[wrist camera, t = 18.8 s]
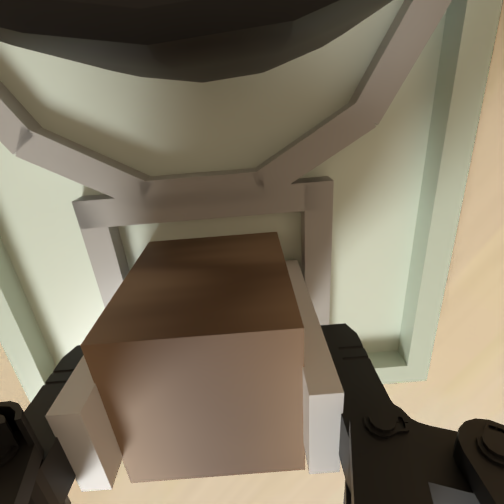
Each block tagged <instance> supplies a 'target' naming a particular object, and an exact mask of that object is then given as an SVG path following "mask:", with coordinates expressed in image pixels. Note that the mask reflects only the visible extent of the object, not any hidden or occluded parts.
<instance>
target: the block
mask: <svg viewBox="0 0 504 504" xmlns="http://www.w3.org/2000/svg"><path fill="white" fill-rule="evenodd" d="M80 346H81V349H82V352H83V354H84V357H85V360H86V363H87V365H88V368H89V371H90V373H91V376H92V379H93V382H94V384H96V386H97V389H98V392H99V394H100V397H101V400H102V402H103V405H104V408H105V410H106V413H107V416H108V419H109V421H110V424H111V427H112V429H113V432H114V435H115V437H116V440H117V443H118V446H119V448H120V451H121V454H122V456H123V458H122V460H123V463H124V465H125V468H126V471H127V474H128V476H129V479H130V482H131V483H137V482H150V481H163V480H176V479H189V478H202V477H214V476H227V475H240V474H253V473H266V472H279V471H292V470H305V448H304V439H303V367H304V325H303V322H302V318H301V315H300V311H299V308H298V304H297V301H296V297H295V294H294V290H293V287H292V283H291V280H290V276H289V272H288V269H287V265H286V262H285V258H284V255H283V251H282V248H281V244H280V241H279V237H278V234H277V232H267V233H254V234H241V235H229V236H216V237H203V238H190V239H177V240H165V241H152V242H149V243H148V244H147V246H146V247H145V249H144V250H143V252H142V253H141V255H140V256H139V258H138V259H137V261H136V262H135V264H134V265H133V267H132V268H131V270H130V271H129V273H128V274H127V276H126V277H125V279H124V280H123V282H122V283H121V285H120V286H119V288H118V289H117V291H116V292H115V294H114V295H113V297H112V298H111V300H110V301H109V303H108V304H107V306H106V307H105V309H104V310H103V312H102V313H101V315H100V316H99V318H98V319H97V321H96V322H95V324H94V325H93V327H92V328H91V330H90V331H89V333H88V335H87V336H86V338H85V339H84V341H83V342H82V344H81V345H80Z"/></svg>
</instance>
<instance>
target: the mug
mask: <svg viewBox="0 0 504 504" xmlns="http://www.w3.org/2000/svg"><path fill="white" fill-rule="evenodd" d="M391 1H393V0H0V42H3V43H6V44H9V45H12V46H16V47H20V48H24V49H28V50H32V51H36V52H40V53H44V54H48V55H52V56H56V57H59V58H63V59H67V60H71V61H75V62H79V63H83V64H87V65H91V66H95V67H99V68H103V69H106V70H110V71H114V72H119V73H124V74H129V75H133V76H138V77H146V78H157V79H168V80H179V81H189V82H200V83H204V82H210V81H216V80H222V79H229V78H235V77H241V76H247V75H253V74H259V73H264V72H266V71H268V70H271V69H273V68H275V67H278V66H280V65H282V64H285V63H287V62H289V61H291V60H294V59H296V58H298V57H301V56H303V55H305V54H308V53H310V52H312V51H314V50H317V49H319V48H321V47H323V46H325V45H326V44H328V43H330V42H331V41H333V40H334V39H336V38H338V37H339V36H341V35H343V34H344V33H346V32H347V31H349V30H350V29H352V28H353V27H355V26H356V25H357V24H359V23H360V22H362V21H363V20H365V19H366V18H368V17H369V16H371V15H372V14H374V13H375V12H377V11H378V10H380V9H381V8H383V7H384V6H386V5H387V4H388V3H390V2H391Z"/></svg>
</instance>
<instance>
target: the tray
mask: <svg viewBox="0 0 504 504" xmlns="http://www.w3.org/2000/svg"><path fill="white" fill-rule="evenodd" d="M502 4H503V0H393V1H391V2H390V3H388V4H387V5H386V6H384V7H383V8H381V9H380V10H378V11H377V12H375V13H374V14H372V15H371V16H369V17H368V18H366V19H365V20H363V21H362V22H360V23H359V24H357V25H356V26H355V27H353V28H352V29H350V30H349V31H347V32H346V33H344V34H343V35H341V36H339V37H338V38H336V39H334V40H333V41H331V42H330V43H328V44H326V45H325V46H323V47H321V48H319V49H317V50H314V51H312V52H310V53H308V54H305V55H303V56H301V57H298V58H296V59H294V60H291V61H289V62H287V63H285V64H282V65H280V66H278V67H275V68H273V69H271V70H268V71H266V72H264V73H259V74H253V75H247V76H241V77H235V78H229V79H222V80H216V81H210V82H204V83H200V82H189V81H179V80H168V79H157V78H146V77H138V76H133V75H129V74H124V73H119V72H114V71H110V70H106V69H103V68H99V67H95V66H91V65H87V64H83V63H79V62H75V61H71V60H67V59H63V58H59V57H56V56H52V55H48V54H44V53H40V52H36V51H32V50H28V49H24V48H20V47H16V46H12V45H9V44H6V43H3V42H0V343H1V345H2V347H3V349H4V351H5V353H6V355H7V357H8V359H9V361H10V363H11V365H12V367H13V369H14V371H15V373H16V375H17V377H18V379H19V381H20V383H21V385H22V387H23V389H24V391H25V393H26V395H27V397H28V399H29V401H30V403H31V402H32V400H33V399H34V397H35V396H36V394H37V393H38V392H39V390H40V389H41V387H42V386H43V385H45V382H46V380H47V379H48V377H49V376H50V375H51V374H52V373H53V370H54V369H55V367H56V366H57V365H58V363H59V362H60V360H61V359H62V358H63V357H64V356H65V355H66V354H67V353H69V352H70V351H71V350H72V349H73V348H75V347H76V346H77V345H81V344H82V342H83V341H84V339H85V338H86V336H87V335H88V333H89V331H90V330H91V328H92V327H93V325H94V324H95V322H96V321H97V319H98V318H99V316H100V315H101V313H102V312H103V310H104V309H105V307H106V306H107V304H108V303H109V301H110V300H111V298H112V297H113V295H114V294H115V292H116V291H117V289H118V288H119V286H120V285H121V283H122V282H123V280H124V279H125V277H126V276H127V274H128V273H129V271H130V270H131V268H132V267H133V265H134V264H135V262H136V261H137V259H138V258H139V256H140V255H141V253H142V252H143V250H144V249H145V247H146V246H147V244H148V243H149V242H152V241H165V240H177V239H190V238H203V237H216V236H229V235H241V234H254V233H267V232H277V234H278V237H279V241H280V244H281V248H282V251H283V255H284V258H285V261H288V260H297V261H298V264H299V266H300V269H301V272H302V275H303V278H304V281H305V283H306V286H307V289H308V292H309V295H310V298H311V300H312V303H313V306H314V309H315V312H316V314H317V317H318V320H319V323H320V325H330V324H343V323H345V324H347V325H348V326H349V327H350V328H351V329H353V330H354V331H355V332H356V333H357V334H358V336H359V338H360V340H361V342H362V344H363V348H365V350H366V352H367V354H368V358H370V360H371V362H372V364H373V366H374V368H375V370H376V372H377V374H378V376H379V378H380V380H381V382H382V384H391V383H404V382H416V381H427V376H428V371H429V366H430V361H431V356H432V351H433V346H434V341H435V336H436V331H437V326H438V321H439V316H440V311H441V306H442V301H443V296H444V291H445V286H446V281H447V276H448V271H449V267H450V262H451V257H452V252H453V247H454V242H455V237H456V232H457V227H458V222H459V217H460V212H461V207H462V202H463V197H464V192H465V187H466V182H467V177H468V172H469V167H470V162H471V157H472V152H473V148H474V143H475V138H476V133H477V128H478V123H479V118H480V113H481V108H482V103H483V98H484V93H485V88H486V83H487V78H488V73H489V68H490V63H491V58H492V53H493V48H494V43H495V38H496V33H497V28H498V24H499V19H500V14H501V9H502Z"/></svg>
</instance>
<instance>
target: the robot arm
mask: <svg viewBox="0 0 504 504" xmlns="http://www.w3.org/2000/svg"><path fill="white" fill-rule="evenodd" d="M285 262H286V265H287V269H288V272H289V276H290V280H291V283H292V287H293V290H294V294H295V297H296V301H297V304H298V308H299V311H300V315H301V318H302V322H303V325H304V367H303V439H304V448H305V453H306V459H307V464H308V470H309V474H317V473H330V472H339V471H340V461H341V465H342V468H343V472H344V475H345V492H344V504H504V425H502V424H499V423H496V422H494V421H491V420H485V419H472V420H468V421H465V422H464V423H463V424H462V425H461V426H460V428H459V430H458V432H457V431H452V430H447V429H442V428H438V427H433V426H429V425H425V424H422V423H419V422H417V421H415V420H413V419H411V418H410V417H409V416H408V415H407V414H406V413H405V412H404V411H403V410H402V409H401V408H399V407H398V406H396V405H394V404H393V403H392V401H391V400H390V398H389V396H388V394H387V392H386V390H385V388H384V386H383V384H382V382H381V380H380V378H379V376H378V374H377V372H376V370H375V368H374V366H373V364H372V362H371V360H370V358H368V354H367V352H366V350H365V348H363V344H362V342H361V340H360V338H359V336H358V334H357V333H356V332H355V331H354V330H353V329H351V328H350V327H349V326H348V325H347V324H345V323H343V324H330V325H320V323H319V320H318V317H317V314H316V312H315V309H314V306H313V303H312V300H311V298H310V295H309V292H308V289H307V286H306V283H305V281H304V278H303V275H302V272H301V269H300V266H299V264H298V261H297V260H288V261H285ZM122 458H123V456H122V454H121V451H120V448H119V446H118V443H117V440H116V437H115V435H114V432H113V429H112V427H111V424H110V421H109V419H108V416H107V413H106V410H105V408H104V405H103V402H102V400H101V397H100V394H99V392H98V389H97V386H96V384H94V382H93V379H92V376H91V373H90V371H89V368H88V365H87V363H86V360H85V357H84V354H83V352H82V349H81V346H80V345H77V346H76V347H75V348H73V349H72V350H71V351H70V352H69V353H67V354H66V355H65V356H64V357H63V358H62V359H61V360H60V362H59V363H58V365H57V366H56V367H55V369H54V370H53V373H52V374H51V375H50V376H49V377H48V379H47V380H46V382H45V385H43V386H42V387H41V389H40V390H39V392H38V393H37V394H36V396H35V397H34V399H33V400H32V402H31V403H30V404H29V406H28V407H27V409H26V410H25V412H23V410H22V408H21V407H20V405H19V404H18V403H15V402H11V401H7V402H0V504H71V502H70V500H69V498H68V496H67V495H68V493H69V490H70V488H71V486H72V484H73V481H74V479H75V478H76V481H77V483H78V485H79V487H80V489H81V491H82V492H83V491H96V490H109V489H112V487H113V484H114V481H115V478H116V475H117V472H118V469H119V467H120V464H121V461H122Z"/></svg>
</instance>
